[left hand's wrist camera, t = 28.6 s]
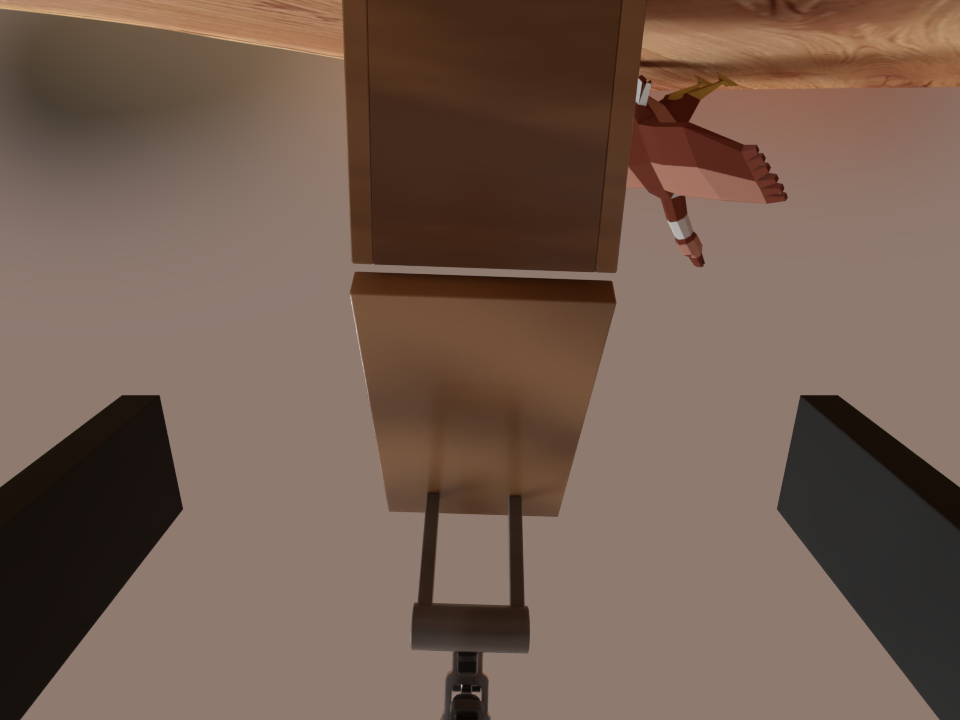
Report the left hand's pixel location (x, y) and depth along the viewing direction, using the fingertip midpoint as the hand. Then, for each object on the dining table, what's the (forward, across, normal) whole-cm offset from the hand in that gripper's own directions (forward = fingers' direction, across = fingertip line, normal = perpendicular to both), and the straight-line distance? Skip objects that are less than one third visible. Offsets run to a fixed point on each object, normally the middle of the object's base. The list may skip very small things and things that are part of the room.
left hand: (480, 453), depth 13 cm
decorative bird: (+47, +17, +11) cm, 51 cm away
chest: (+20, +1, +12) cm, 23 cm away
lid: (+16, 0, -6) cm, 17 cm away
